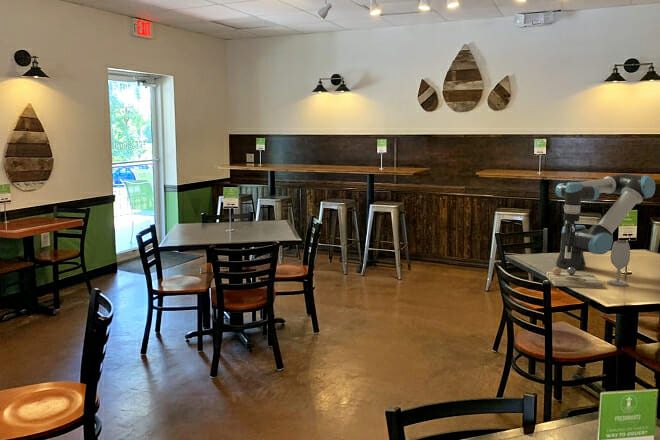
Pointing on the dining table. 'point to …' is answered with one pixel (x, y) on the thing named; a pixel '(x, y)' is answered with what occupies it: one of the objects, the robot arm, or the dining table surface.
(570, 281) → the board
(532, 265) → the dining table surface
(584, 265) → the robot arm
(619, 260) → the wineglass
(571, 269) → the steel ball
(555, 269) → the terracotta ball
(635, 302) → the dining table surface
